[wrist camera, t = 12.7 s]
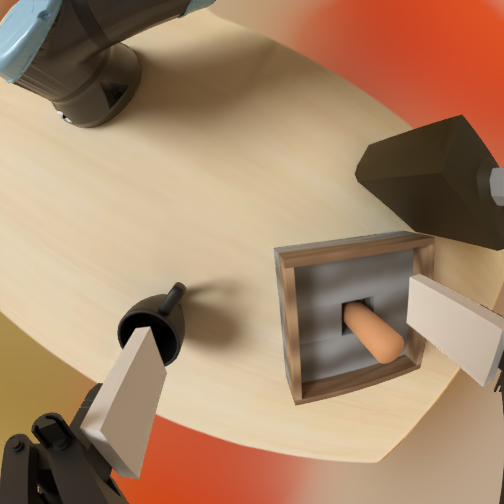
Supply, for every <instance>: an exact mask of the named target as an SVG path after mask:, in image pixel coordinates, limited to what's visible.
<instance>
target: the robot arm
mask: <svg viewBox="0 0 504 504" xmlns="http://www.w3.org/2000/svg"><path fill="white" fill-rule="evenodd" d="M215 1H216V0H20V1H19V2H18V3H17V4H16V5H15V6H14V7H13V9H12V10H11V11H10V12H9V14H8V15H7V16H6V18H5V19H4V21H3V22H2V24H1V26H0V77H2V78H3V79H5V80H6V81H7V82H8V83H13V84H15V85H17V86H20V87H22V88H24V89H26V90H29V91H31V92H33V93H35V94H37V95H39V96H42V97H44V98H46V99H48V100H50V101H51V103H52V104H53V106H54V107H55V109H56V110H57V112H58V113H59V115H60V116H61V118H62V119H64V120H65V121H66V122H68V123H70V124H72V125H75V126H77V127H82V128H89V127H94V126H98V125H100V124H103V123H105V122H107V121H108V120H110V119H111V118H113V117H114V116H116V115H117V114H118V113H119V112H120V111H121V110H122V109H123V108H124V107H125V106H126V105H127V104H128V102H129V101H130V100H131V98H132V97H133V95H134V93H135V91H136V89H137V87H138V84H139V81H140V77H141V66H140V62H139V60H138V58H137V56H136V55H135V53H134V52H133V50H132V49H131V48H130V47H128V46H127V45H125V44H123V43H120V42H121V41H123V40H126V39H128V38H130V37H132V36H134V35H136V34H138V33H140V32H143V31H145V30H147V29H150V28H152V27H154V26H157V25H159V24H162V23H164V22H167V21H170V20H173V19H175V18H182V17H184V16H186V15H187V14H188V13H191V12H194V11H197V10H200V9H203V8H206V7H208V6H210V5H211V4H213V3H214V2H215ZM406 323H407V324H409V325H410V326H411V327H412V328H414V329H415V330H416V331H417V332H418V333H420V334H421V335H422V336H423V337H425V338H426V339H427V340H428V341H429V342H431V343H432V344H433V345H434V346H436V347H437V348H438V349H439V350H440V351H442V352H443V353H444V354H445V355H446V356H447V357H449V358H450V359H451V360H452V361H453V362H455V363H456V364H457V365H458V366H459V367H460V368H462V369H463V370H464V371H465V372H466V373H468V374H469V375H470V376H471V377H472V378H473V379H474V380H475V381H477V382H478V383H479V384H480V385H481V386H482V387H484V386H485V385H487V384H488V383H489V382H490V381H492V380H493V379H494V376H495V374H496V371H497V369H498V368H499V369H500V370H502V372H501V374H500V376H499V379H498V381H497V384H496V386H495V388H494V392H496V390H497V388H498V386H500V385H501V387H500V390H499V392H502V401H503V413H504V317H502V316H501V315H499V314H496V313H495V312H494V311H492V310H490V309H488V308H486V307H485V306H483V305H480V304H478V303H476V302H474V301H472V300H470V299H468V298H467V297H465V296H463V295H461V294H459V293H457V292H455V291H453V290H451V289H449V288H447V287H445V286H443V285H441V284H439V283H437V282H435V281H433V280H431V279H429V278H427V277H425V276H423V275H421V274H418V275H414V276H411V277H410V279H409V298H408V311H407V322H406ZM166 374H167V372H166V370H165V367H164V364H163V362H162V359H161V356H160V354H159V351H158V348H157V345H156V342H155V340H154V337H153V334H152V331H151V328H150V327H143V328H136V329H135V330H134V332H133V334H132V335H131V337H130V339H129V340H128V342H127V344H126V345H125V347H124V349H123V350H122V352H121V354H120V355H119V357H118V359H117V360H116V362H115V364H114V366H113V367H112V369H111V371H110V373H109V374H108V376H107V378H106V380H105V381H104V383H98V384H97V385H95V386H94V387H93V388H92V389H91V390H90V391H89V393H88V394H87V396H86V398H85V401H83V403H82V405H81V408H79V410H78V412H77V413H76V415H75V417H74V419H73V421H72V422H71V424H70V426H68V425H67V424H66V422H65V421H64V419H63V418H62V416H61V415H59V414H57V413H47V414H44V415H42V416H40V417H39V418H38V419H37V420H35V422H34V424H33V425H32V433H33V434H34V436H35V437H36V438H37V439H38V441H39V442H40V443H41V444H33V443H32V442H31V440H30V439H29V438H28V437H27V436H26V435H24V434H16V435H13V436H12V437H10V438H9V439H8V441H7V442H6V444H5V448H4V454H3V460H2V468H1V478H0V504H129V503H128V501H127V500H126V498H125V497H124V495H123V494H122V492H121V491H120V489H119V487H118V486H117V484H116V482H115V481H114V479H113V478H112V477H111V476H110V474H111V471H112V468H113V469H114V471H115V472H116V473H117V474H118V475H120V477H127V478H135V479H139V477H140V473H141V468H142V464H143V460H144V456H145V451H146V447H147V443H148V439H149V436H150V431H151V428H152V424H153V420H154V416H155V413H156V409H157V406H158V402H159V398H160V395H161V391H162V388H163V384H164V381H165V377H166ZM37 486H38V487H39V493H38V488H37ZM499 504H504V470H503V481H502V490H501V496H500V503H499Z"/></svg>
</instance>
